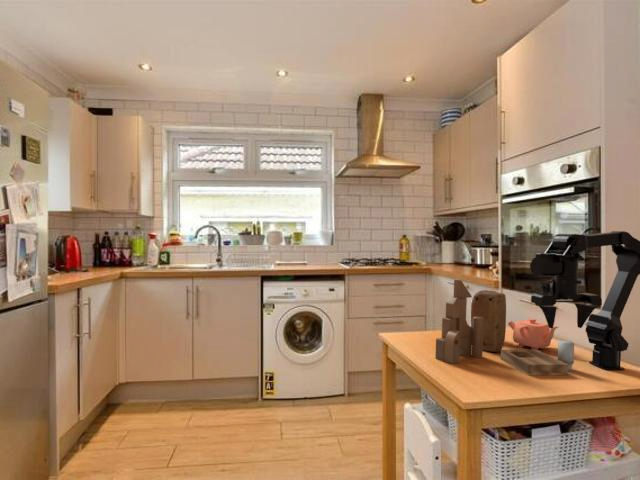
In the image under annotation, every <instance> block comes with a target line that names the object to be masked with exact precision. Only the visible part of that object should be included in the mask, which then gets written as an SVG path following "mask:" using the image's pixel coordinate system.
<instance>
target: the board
mask: <svg viewBox="0 0 640 480" xmlns="http://www.w3.org/2000/svg"><path fill="white" fill-rule="evenodd" d="M500 359H501V361H503V362H505V363H507V364H508V365H510V366H512V367H514V368H515V369H517V370H519V371H520V372H522V373H524V374H525V375H527V376H568V375H569V371H568V364H566V363H564V362H561V361H559V360H557V358H555V357H553V356H551V355H549V354H547V353H544V352H542V351H540V350H531V349H501V351H500Z"/></svg>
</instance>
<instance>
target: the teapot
mask: <svg viewBox="0 0 640 480" xmlns="http://www.w3.org/2000/svg"><path fill="white" fill-rule="evenodd" d="M507 325H508V326H509V328H511V329H512V330H513V331H512V340H513V342H514V343H517V344H518V345H517V347H519V348H524V347H525V346H527V347H530V348H531V349H530V350H538V349H541V350H545V349H546V347H549V346H550V345H551V342H552V339H553V338H554V334H555V331H556V330H557V329H558V328H559V326H555V325H554V326H553V328H552V329H551V328H549V326H548V323H544V322H539V321H537V319H535V318H529V319H528V320H527V319H524V320H518V321H516V322H515V323H514V321H512V320H511V321H509V322H507ZM538 351H539V350H538Z"/></svg>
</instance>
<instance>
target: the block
mask: <svg viewBox="0 0 640 480" xmlns="http://www.w3.org/2000/svg"><path fill="white" fill-rule="evenodd" d="M471 300H472V303H471V302H470V312H471V327H472V331H473V317H476V316H477V317H482V318H483V319H484V325H483V351H485V352H486V351H487V352H491V353H498V352H501V350H503V348H504V347H503V346H504V344H505V340H506V332H507V331H506V330H507V329H506V327H507V325H506V323H507V298H506V294H505V293H503V292H497V291H496V290H483V289H482V290H479V291H477V292H475V293H474V295H473V297H472V299H471Z"/></svg>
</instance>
